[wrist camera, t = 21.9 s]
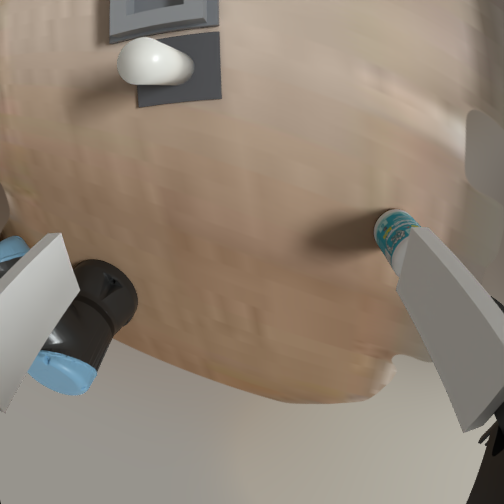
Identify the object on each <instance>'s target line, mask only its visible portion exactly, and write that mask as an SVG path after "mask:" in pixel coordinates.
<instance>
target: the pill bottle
mask: <svg viewBox="0 0 504 504" xmlns="http://www.w3.org/2000/svg"><path fill="white" fill-rule="evenodd" d="M411 227H421V226H420V225H419V224H418V223H417V222H416V221H415V220H414V219H413V218H412V217H411V216H410V215H409V214H408V213H407V212H405V211H403V210H400V209H393V210H389V211H387V212H385V213H384V214H382V215H381V216H380V217H379V219H378V220H377V222H376V224H375V227H374V238H375V241H376V242H377V244H378V246H379V247H380V249H381V251H382V252H383V254H384V255H385V257H386V259H387V260H388V262H389V263H390V265H391V267H392V268H393V270H394V272H395V273H396V275H397V276H398V277H400V273H401V269H402V265H403V261H404V257H405V252H406V248H407V244H408V239H409V234H410V229H411Z"/></svg>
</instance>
